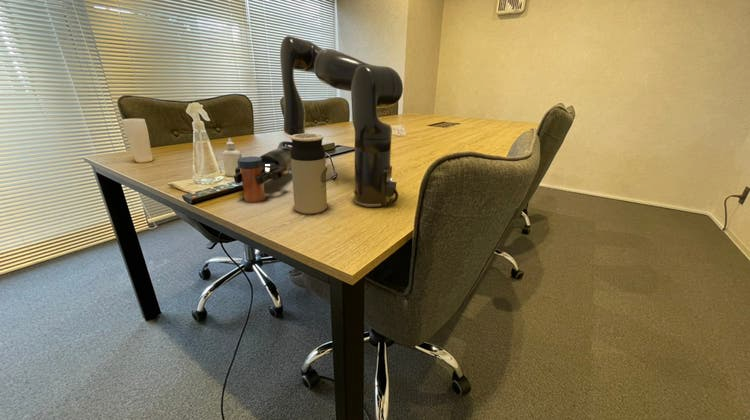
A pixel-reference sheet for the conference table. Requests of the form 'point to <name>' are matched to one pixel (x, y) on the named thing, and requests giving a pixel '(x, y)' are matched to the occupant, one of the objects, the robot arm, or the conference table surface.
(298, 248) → the conference table surface
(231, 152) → the eye dropper bottle
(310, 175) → the travel mug
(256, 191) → the jar
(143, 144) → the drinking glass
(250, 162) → the lid
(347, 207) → the conference table surface
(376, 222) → the conference table surface
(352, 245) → the conference table surface
